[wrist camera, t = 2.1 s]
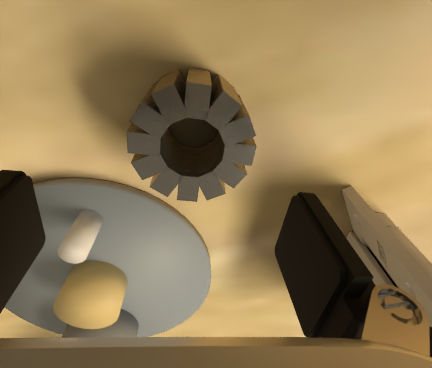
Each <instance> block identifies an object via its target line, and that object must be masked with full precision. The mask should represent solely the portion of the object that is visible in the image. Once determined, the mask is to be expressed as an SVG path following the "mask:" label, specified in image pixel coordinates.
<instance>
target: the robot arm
mask: <svg viewBox="0 0 432 368" xmlns="http://www.w3.org/2000/svg"><path fill="white" fill-rule="evenodd" d="M45 239H46V237H45V232H44V228H43V224H42V220H41V215H40V211H39V207H38V203H37V199H36V195H35V191H34V187H33V183H32V179H31V178H30V177H29V176H26V174H25V173H24V172H23V171H12V170H1V171H0V313H1V312H2V310H3V308H4V307H5V305H6V304H7V302H8V301H9V299H10V298H11V296H12V294H13V293H14V291H15V290H16V288H17V287H18V285H19V284H20V282H21V280H22V279H23V277H24V276H25V274H26V273H27V271H28V270H29V268H30V266H31V265H32V263H33V262H34V260H35V259H36V257H37V256H38V254H39V252H40V251H41V249H42V248H43V246H44V244H45ZM275 255H276V258H277V261H278V264H279V267H280V269H281V272H282V275H283V278H284V281H285V283H286V286H287V289H288V292H289V294H290V297H291V300H292V303H293V306H294V308H295V311H296V314H297V317H298V320H299V322H300V325H301V328H302V331H303V333H304V335H305V336H306V337H95V338H0V368H432V327H430V326H429V318H428V315H427V313H426V311H425V309H424V308H423V307H422V305H421V304H420V303H419V302H418V301H417V300H416V299H415V298H413V297H412V296H411V295H410V294H408V293H407V292H405V291H403V290H402V289H399V288H397V287H395V286H391V285H387V284H381V285H377V286H376V285H375V284H374V282H373V281H372V279H373V278H374V277H373V275H372V274H371V272H370V271H369V270H368V268H367V267H366V265H365V264H364V262H363V261H362V260H361V258H360V257H359V255H358V254H357V253H356V251H355V250H354V248H353V247H352V246H351V244H350V243H349V241H348V240H347V239H346V237H345V236H344V234H343V233H342V231H341V230H340V229H339V227H338V226H337V224H336V223H335V222H334V220H333V219H332V217H331V216H330V215H329V213H328V212H327V210H326V209H325V208H324V206H323V205H322V203H321V202H320V200H319V199H318V198H317V196H316V195H315V194H313V193H302V192H299V193H298V194H297V195H296V196H293V197H292V199H291V202H290V205H289V208H288V211H287V214H286V217H285V219H284V222H283V225H282V228H281V231H280V234H279V237H278V240H277V243H276V246H275Z"/></svg>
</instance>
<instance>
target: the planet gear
mask: <svg viewBox="0 0 432 368" xmlns="http://www.w3.org/2000/svg"><path fill="white" fill-rule="evenodd" d="M185 118H193V119H201V120H205V121H207V122H208V123H210V124H211V125H212V126H214V127H215V128H216V129H218V130H219V132H218V134H217V135H216V137H215V138H214V139H213V140H212V142H211V143H210V144H207V145H204V146H202V147H199V148H193V147H185V146H183V145H182V144H180V143H179V142H177V141H176V140H174V139H173V137H172V135H171V133H170V131H169V129H168V127H169V126H170V124H173V123H175V122H177V121H180V120H182V119H185ZM130 122H132V124H131V126H130V128H129V129H128V131H127V148H128V153H133V154H135V155H134V157H133V159H132V162H131V164H132V165H133V167H134V168H135V170H136V171H137V173H138V174H139V176H140V177H141V179H142V180H144V179H146V178H149V177H151V176H153V178H152V181H151V184H150V187H151V188H152V189H154V190H156V191H158V192H159V193H161V194H163V195H165V196H167V197H168V196H169V194H170V193H171V192H172V191H173V190H174V188H175V187H176V186H177V185H178V195H177V200H183V201H195V202H197V198H198V190H199V186H200V188H201V190H202V192H203V194H204V196H205V198H206V200H209V199H212V198H215V197H218V196H220V195H223V194H225V187H224V182H225V183H226V184H228V185H229V186H231V187H232V188H234V187H235V186H236V185H237V184H238V183H239V182H240V181H241V180H242V179H243V178H244V177H245V176H246V175H247V172H246V169H245V166H244V165H251V166H252V163H253V158H254V154H255V150H256V144H255V142H254V139H253V137H254V136H256V134H255V131H254V129H253V126H252V123H251V120H250V117H249V114H248V112H247V110H246V108H245V106H244V104H243V102H242V100H241V98H240V96H239V95H237V93H236V91H235V89H234V87H233V86H232V85H230V84H229V83H228V82H227V81H225V80H224V79H223V78H222V77H221V76H219V75H218V76H217V78H216V79H215V80H214V82H213V83H212V84H211V78H210V72H209V71H208V70H201V69H194V68H189V72H188V77H187V82H186V83H185V81H184V79H183V76H182V74H181V72H180V70H176V71H174V72H172V73H170V74H168V75H165V76H163V77H161V79H160V80H159V82H158V83H157V85H155V84H153V86H152V87H151V89H150V90H149V92H148V93H147V95H146V96H145V98H144V99H143V101H142V102H141V104H140V106H139V107H138V109H137V110H136V112H135V114H134V115H133V117H132V118H131V120H130Z"/></svg>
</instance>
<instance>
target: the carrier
mask: <svg viewBox="0 0 432 368" xmlns="http://www.w3.org/2000/svg"><path fill="white" fill-rule="evenodd" d="M33 187H34V191H35V195H36V199H37V203H38V207H39V211H40V215H41V220H42V224H43V228H44V232H45V237H46V239H45V244H44V246H43V248H42V249H41V251H40V252H39V254H38V256H37V257H36V259H35V260H34V262H33V263H32V265H31V266H30V268H29V270H28V271H27V273H26V274H25V276H24V277H23V279H22V280H21V282H20V284H19V285H18V287H17V288H16V290H15V291H14V293H13V294H12V296H11V298H10V299H9V301H8V302H7V304H6V305H5V308H6V309H8V310H9V311H11V312H12V313H14V314H15V315H17V316H19V317H20V318H22V319H24V320H26V321H28V322H30V323H32V324H34V325H37V326H39V327H41V328H44V329H47V330H50V331H53V332H56V333H59V334H63V336H62V338H95V337H148V336H152V335H156V334H159V333H162V332H165V331H167V330H169V329H172V328H174V327H176V326H177V325H179V324H181V323H183V322H184V321H185V320H187V319H188V318H189V317H191V316H192V315H193V314H194V313H195V312H196V311H197V310H198V309H199V308H200V306H201V305H202V304H203V302H204V300H205V298H206V296H207V294H208V291H209V288H210V283H211V265H210V257H209V253H208V250H207V247H206V245H205V243H204V241H203V239H202V237H201V235H200V234H199V233H198V231H197V230H196V228H195V227H194V226H193V225H192V224H191V223H190V222H189V221H188V220H187V218H186V217H184V216H183V215H182V214H181V213H180V212H178V211H177V210H176V209H175V208H173V207H172V206H170V205H169V204H167V203H165V202H164V201H162V200H161V199H159V198H157V197H155V196H153V195H151V194H148V193H146V192H144V191H141V190H139V189H136V188H133V187H130V186H128V185H124V184H120V183H116V182H112V181H106V180H99V179H92V178H62V179H52V180H47V181H42V182H37V183H34V184H33Z"/></svg>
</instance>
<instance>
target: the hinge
mask: <svg viewBox="0 0 432 368" xmlns="http://www.w3.org/2000/svg"><path fill="white" fill-rule="evenodd" d="M342 193H343V196H344V200H345V203H346V207H347V210H348V214H349V217H350V221H351V224H352V228H353V231H354V232H349V233H348V235H347V237H346V239H347V240H348V241H349V243H350V244H351V246H352V247H353V248H354V250H355V251H356V253H357V254H358V255H359V257H360V258H361V260H362V261H363V262H364V264H365V265H366V267H367V268H368V270H369V271H370V272H371V274H372V275H373V277H374V278H373V279H372V281H373V282H374V284H375V285H376V286H377V285H381V284H387V285H391V286H395V287H397V288H399V289H402V290H403V291H405V292H407V293H408V294H410V295H411V296H412V297H413V298H415V299H416V300H417V301H418V302H419V303H420V304H421V305H422V307H423V308H424V309H425V311H426V313H427V315H428V318H429V326H430V327H432V263H431V262H430V261H429V260H428V259H427V258H426V257H425V256H424V255H423V254H422V253H421V252H420V251H419V250H418V248H417V247H416V246H415V245H414V244H413V243H412V242H411V241H410V240H409V239H408V238H407V237H406V236H405V234H404V233H403V232H402V231H401V230H400V229H399V228H398V227H397V226H396V225H395V224H394V223H393V222H392V221H391V220H390V219H389V218H388V216H387V215H386V214H383V213H377V212H376V213H375V212H374V211H373V210H372V208H371V207H370V206H369V205H368V204H367V203H366V202H365V200H364V199H363V198H362V197H361V196H360V195H359V194H358V192H357V191H356V190H355V189H354V188H353V187H352V186H349V187H347V188H344V189H342Z"/></svg>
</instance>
